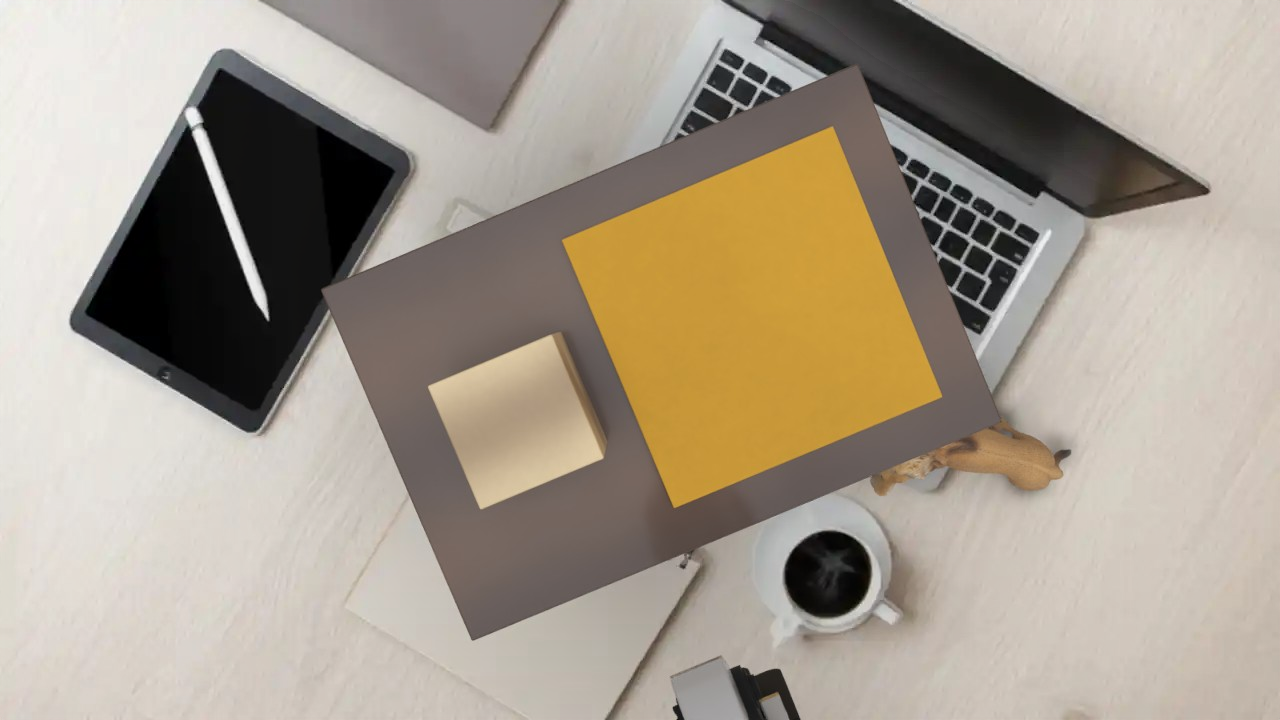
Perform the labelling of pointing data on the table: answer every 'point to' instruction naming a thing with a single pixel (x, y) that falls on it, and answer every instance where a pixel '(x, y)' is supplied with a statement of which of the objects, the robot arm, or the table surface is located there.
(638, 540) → the walnut stand
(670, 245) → the felt cloth
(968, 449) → the lion figurine
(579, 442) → the beech block
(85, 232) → the table surface
